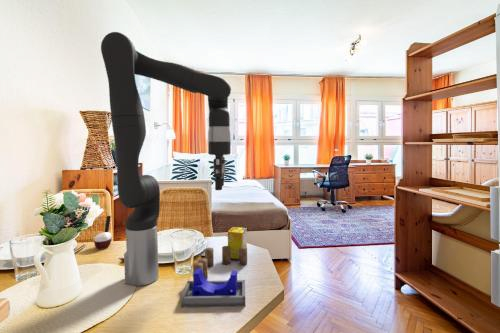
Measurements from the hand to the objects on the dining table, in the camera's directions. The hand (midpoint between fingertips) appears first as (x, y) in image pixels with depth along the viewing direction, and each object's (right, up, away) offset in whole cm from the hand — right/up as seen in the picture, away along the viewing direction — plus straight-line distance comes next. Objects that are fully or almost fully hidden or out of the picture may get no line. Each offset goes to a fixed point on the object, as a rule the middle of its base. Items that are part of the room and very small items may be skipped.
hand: (219, 187), depth 94 cm
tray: (+1, -30, -16) cm, 34 cm away
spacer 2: (-5, -29, -6) cm, 30 cm away
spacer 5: (+8, -28, +5) cm, 29 cm away
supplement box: (+6, -28, +10) cm, 30 cm away
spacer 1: (-6, -29, -9) cm, 31 cm away
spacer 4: (+2, -28, +5) cm, 28 cm away
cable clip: (+1, -29, -16) cm, 33 cm away
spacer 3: (-4, -28, +3) cm, 28 cm away
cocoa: (-51, -27, +20) cm, 61 cm away
